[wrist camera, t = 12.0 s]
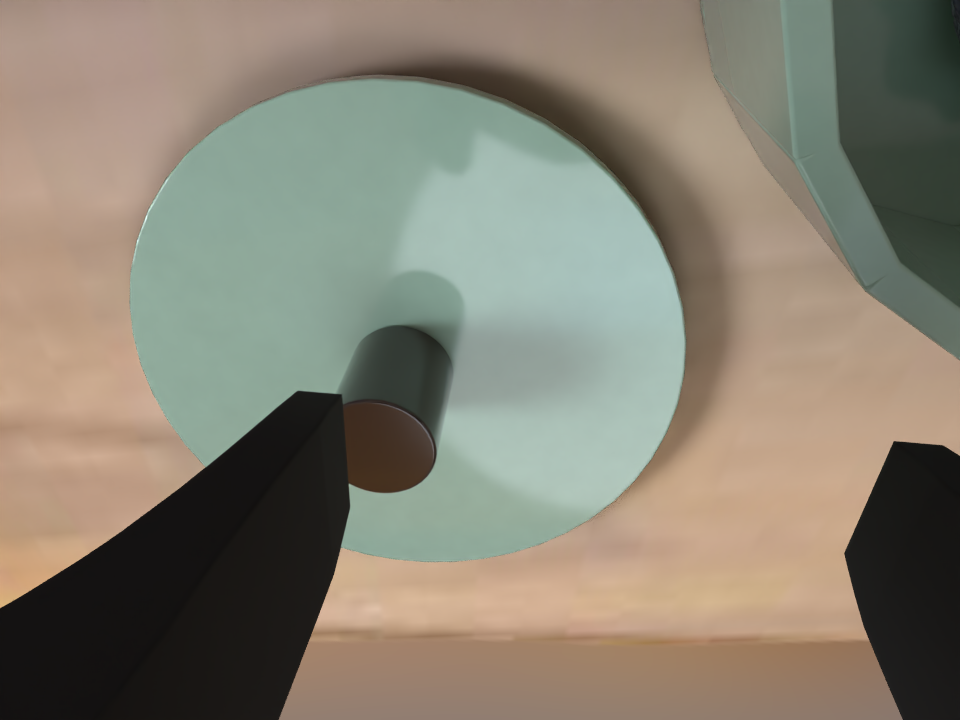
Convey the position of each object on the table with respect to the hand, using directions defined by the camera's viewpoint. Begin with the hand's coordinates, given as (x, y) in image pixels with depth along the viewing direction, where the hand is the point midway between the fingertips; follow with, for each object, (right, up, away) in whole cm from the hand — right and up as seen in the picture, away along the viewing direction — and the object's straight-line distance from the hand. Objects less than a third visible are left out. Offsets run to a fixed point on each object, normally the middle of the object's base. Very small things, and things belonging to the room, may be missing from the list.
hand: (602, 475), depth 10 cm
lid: (-4, +2, +9) cm, 10 cm away
